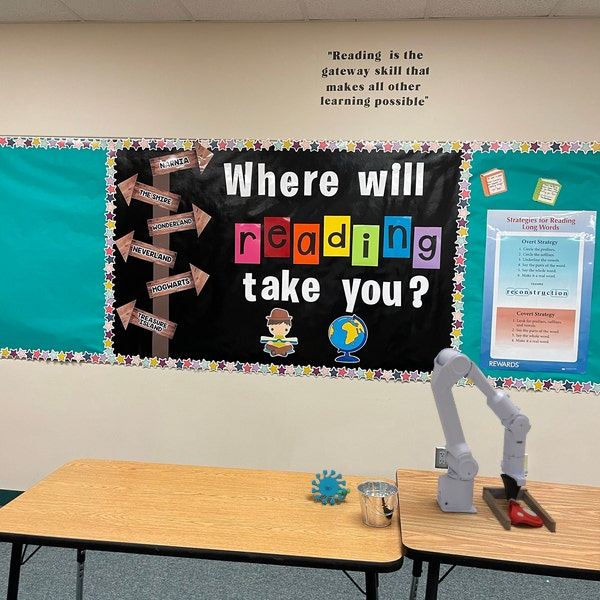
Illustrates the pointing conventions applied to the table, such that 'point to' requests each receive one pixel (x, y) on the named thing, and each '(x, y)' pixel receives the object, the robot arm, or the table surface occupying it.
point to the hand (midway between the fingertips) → (510, 501)
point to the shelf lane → (523, 494)
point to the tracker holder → (522, 514)
